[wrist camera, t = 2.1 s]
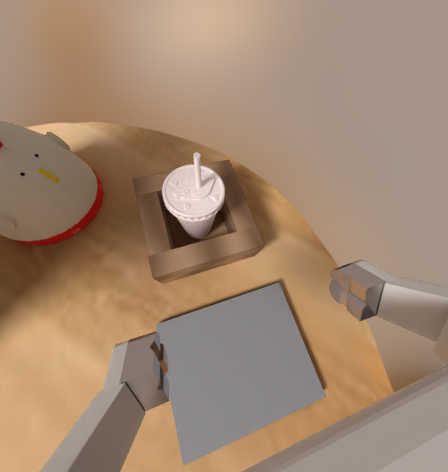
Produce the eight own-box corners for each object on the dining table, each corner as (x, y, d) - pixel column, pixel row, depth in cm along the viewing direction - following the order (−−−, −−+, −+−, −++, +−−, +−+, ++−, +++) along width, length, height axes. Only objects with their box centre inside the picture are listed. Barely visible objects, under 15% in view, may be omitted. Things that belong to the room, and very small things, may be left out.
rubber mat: (184, 458, 20) (183, 465, 19) (158, 323, 24) (156, 324, 23) (321, 393, 23) (326, 396, 22) (276, 283, 27) (279, 282, 26)
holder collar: (162, 283, 26) (152, 277, 21) (144, 199, 30) (132, 179, 25) (254, 255, 28) (264, 244, 23) (226, 181, 32) (229, 159, 27)
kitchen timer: (74, 256, 26) (-81, 192, 12) (-27, 231, 26) (-297, 139, 12) (118, 173, 31) (45, 60, 17) (34, 153, 31) (-107, 24, 17)
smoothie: (227, 235, 29) (244, 173, 16) (187, 255, 27) (169, 204, 14) (207, 201, 30) (207, 119, 17) (168, 218, 29) (136, 142, 16)
